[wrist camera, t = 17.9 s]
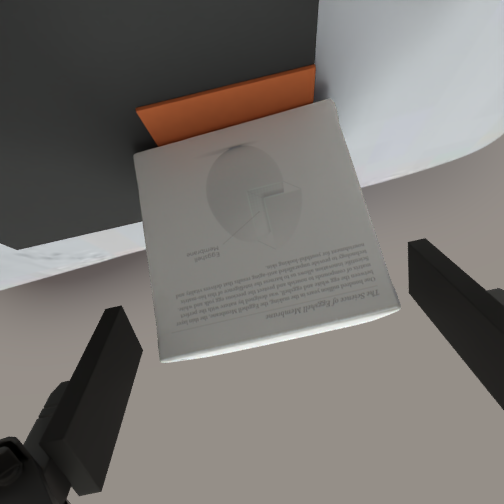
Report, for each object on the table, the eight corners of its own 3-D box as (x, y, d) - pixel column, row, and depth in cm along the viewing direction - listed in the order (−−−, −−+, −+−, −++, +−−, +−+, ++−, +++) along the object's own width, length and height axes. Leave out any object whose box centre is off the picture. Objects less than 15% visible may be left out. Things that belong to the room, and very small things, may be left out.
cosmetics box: (176, 202, 24) (199, 362, 21) (130, 150, 18) (152, 364, 15) (329, 163, 23) (378, 324, 20) (335, 94, 17) (406, 310, 14)
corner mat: (17, 245, 27) (17, 252, 27) (-393, 73, 11) (-400, 89, 11) (305, 178, 26) (307, 186, 26) (323, -120, 10) (328, -106, 10)
